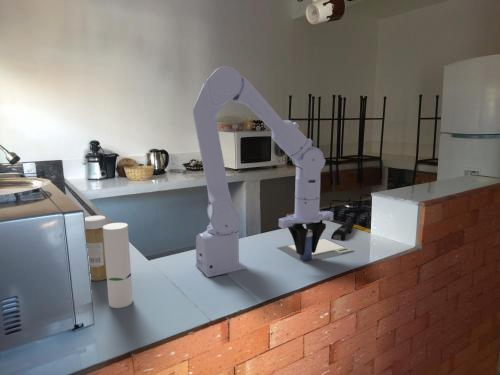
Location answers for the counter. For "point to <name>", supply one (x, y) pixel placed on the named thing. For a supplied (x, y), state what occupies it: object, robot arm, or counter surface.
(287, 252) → the desk mat
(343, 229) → the electric trimmer
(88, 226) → the sprinkles bottle
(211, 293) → the counter surface
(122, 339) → the counter surface
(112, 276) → the tube
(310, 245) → the marker
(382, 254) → the counter surface
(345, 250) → the word tile
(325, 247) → the paper
